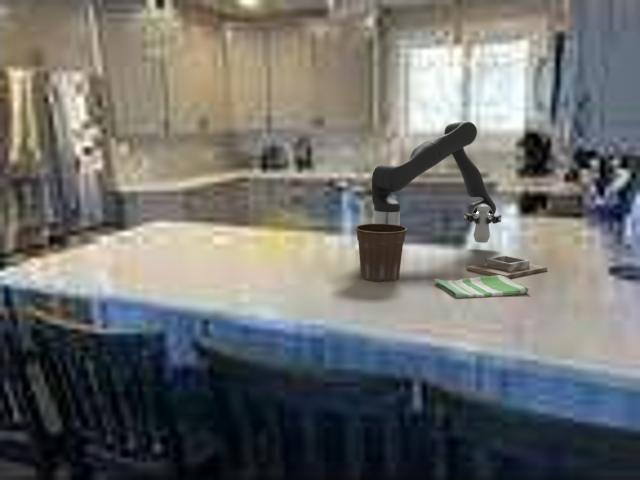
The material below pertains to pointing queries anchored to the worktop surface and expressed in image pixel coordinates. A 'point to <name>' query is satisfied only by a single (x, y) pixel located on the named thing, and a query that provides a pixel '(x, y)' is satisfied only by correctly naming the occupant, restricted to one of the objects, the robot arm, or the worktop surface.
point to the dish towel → (482, 287)
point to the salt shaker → (482, 225)
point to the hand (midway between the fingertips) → (482, 221)
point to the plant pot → (380, 251)
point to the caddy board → (507, 267)
